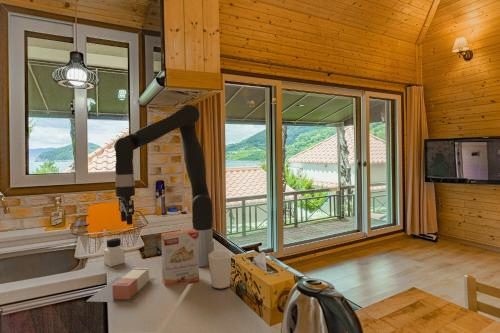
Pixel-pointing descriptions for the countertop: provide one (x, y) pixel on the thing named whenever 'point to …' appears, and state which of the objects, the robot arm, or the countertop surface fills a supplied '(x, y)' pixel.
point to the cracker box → (180, 257)
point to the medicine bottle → (114, 252)
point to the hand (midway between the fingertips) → (126, 222)
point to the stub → (124, 288)
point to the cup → (220, 268)
